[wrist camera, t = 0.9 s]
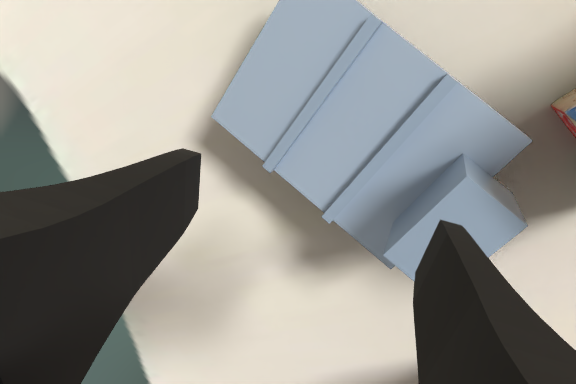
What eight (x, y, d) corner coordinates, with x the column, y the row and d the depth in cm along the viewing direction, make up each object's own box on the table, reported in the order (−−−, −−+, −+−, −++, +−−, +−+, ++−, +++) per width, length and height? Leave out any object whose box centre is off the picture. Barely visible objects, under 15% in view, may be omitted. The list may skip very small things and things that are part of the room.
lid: (548, 152, 19) (580, 184, 14) (408, 274, 23) (400, 327, 19) (309, -37, 20) (270, -62, 15) (219, 114, 24) (169, 128, 20)
